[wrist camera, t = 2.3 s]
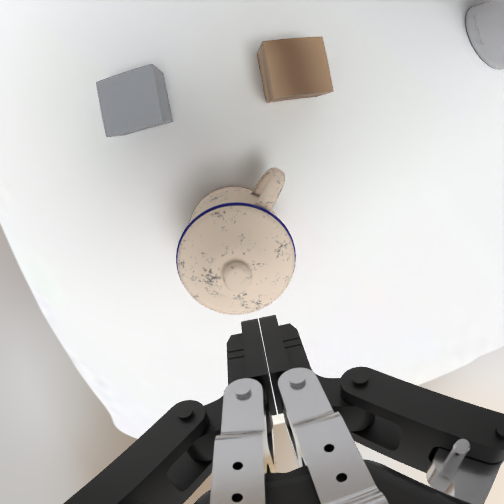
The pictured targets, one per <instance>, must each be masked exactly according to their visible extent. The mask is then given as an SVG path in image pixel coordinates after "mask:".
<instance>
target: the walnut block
mask: <svg viewBox="0 0 504 504" xmlns="http://www.w3.org/2000/svg"><path fill="white" fill-rule="evenodd" d="M257 56H258V61H259V66H260V71H261V76H262V81H263V86H264V92H265V97H266V102H267V103H269V102H275V101H283V100H290V99H298V98H307V97H317V96H320V95H323V94H326V93H330V92H333V87H332V81H331V76H330V71H329V66H328V61H327V56H326V52H325V47H324V42H323V38H322V37H305V38H291V39H280V40H271V41H263V42H262V45H261V47H260V49H259V51H258V54H257Z"/></svg>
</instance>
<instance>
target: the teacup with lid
mask: <svg viewBox="0 0 504 504" xmlns="http://www.w3.org/2000/svg"><path fill="white" fill-rule="evenodd" d="M284 181H285V175H284V173H283V172H282V171H281V170H279V169H277V168H270V169H269V170H267V171H266V172H265V173H264V174H263V176H262V177H261V178H260V180H259V181H258V183H257V184H256V186H255V187H254V189H253V191H252V190H249V189H246V188H242V187H225V188H221V189H218V190H216V191H213V192H212V193H210V194H208V195H207V196H206V197H204V198H203V199H202V200H201V201H200V202H199V204H198V205H197V206H196V208H195V210H194V212H193V214H192V217H191V220H190V222H189V225H188V226H187V227H186V229H185V230H184V232H183V234H182V236H181V238H180V240H179V244H178V247H177V254H176V263H177V270H178V274H179V276H180V279H181V281H182V283H183V285H184V287H185V288H186V290H187V291H188V292H189V294H190V295H191V296H192V297H193V298H194V299H195V300H196V301H198V302H199V303H200V304H202V305H203V306H205V307H207V308H209V309H211V310H214V311H216V312H220V313H225V314H246V313H251V312H254V311H257V310H260V309H262V308H264V307H266V306H268V305H269V304H271V303H272V302H273V301H275V300H276V299H277V298H278V297H279V296H280V295H281V294H282V293H283V292H284V290H285V289H286V287H287V286H288V284H289V282H290V280H291V278H292V275H293V272H294V268H295V260H296V254H295V247H294V243H293V240H292V237H291V235H290V233H289V231H288V229H287V228H286V226H285V225H284V224H283V223H282V222H281V220H280V219H278V218H277V217H276V215H275V213H274V211H273V210H272V206H273V205H274V203H275V201H276V199H277V198H278V196H279V194H280V192H281V190H282V187H283V184H284Z"/></svg>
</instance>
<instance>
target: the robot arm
mask: <svg viewBox="0 0 504 504" xmlns="http://www.w3.org/2000/svg"><path fill="white" fill-rule="evenodd" d="M466 27H467V32H468V35H469V38H470V41H471V43H472V45H473V47H474V49H475V50H476V52H477V53H478V55H479V56H480V57H481V59H482V60H483V61H484V62H485V63H487V64H488V65H489V66H491V67H493V68H495V69H504V0H493V1H490V2H486V3H483V4H480V5H477V6H474V7H471V8H470V9H469V10H468V12H467V15H466ZM259 321H260V326H261V331H262V336H263V341H264V346H265V351H264V347H263V342H262V337H261V332H260V328H259V323H258V319H253V320H248V321H243V322H241V326H242V333H241V334H236V335H231V337H230V338H229V340H228V342H227V364H228V386H227V387H226V389H225V391H224V395H223V396H222V397H221V398H220V399H218V400H216V401H214V402H212V403H210V404H207V405H204V406H203V405H202V404H201V403H199V402H197V401H193V400H186V401H182V402H179V403H177V404H176V405H174V406H173V407H172V408H171V409H170V410H169V411H168V412H167V413H166V414H165V415H163V416H162V417H161V418H160V419H159V420H158V421H157V422H156V423H155V424H154V425H153V426H152V427H151V428H150V429H148V430H147V431H146V432H145V433H144V434H143V435H142V436H141V437H140V438H139V439H138V440H136V441H135V442H134V443H133V444H132V445H131V446H130V447H129V448H128V449H127V450H125V451H124V452H123V453H122V454H121V455H120V456H119V457H118V458H116V459H115V460H114V461H113V462H112V463H111V464H110V465H109V466H107V467H106V468H105V469H104V470H103V471H102V472H100V473H99V474H98V475H97V476H96V477H95V478H94V479H92V480H91V481H90V482H89V483H88V484H86V485H85V486H84V487H83V488H82V489H80V490H79V491H78V492H77V493H76V494H75V495H73V496H72V497H71V498H70V499H68V500H67V501H66V502H65V503H64V504H183V503H184V502H185V501H186V500H187V499H188V498H189V497H190V496H191V495H192V494H193V493H194V492H195V490H196V489H197V488H198V487H199V486H200V485H201V484H202V483H203V482H204V481H205V479H206V478H207V477H208V476H209V475H210V474H211V473H212V482H211V490H209V491H208V492H206V493H205V494H203V495H202V496H201V497H200V498H199V499H198V500H197V501H196V502H195V503H194V504H484V502H485V500H486V498H487V496H488V494H489V491H490V489H491V487H492V485H493V482H494V480H495V478H496V475H497V473H498V470H499V468H500V465H501V464H502V463H503V462H504V414H502V413H499V412H496V411H492V410H489V409H486V408H483V407H479V406H476V405H473V404H470V403H467V402H463V401H460V400H457V399H454V398H451V397H448V396H445V395H442V394H439V393H437V392H433V391H431V390H428V389H425V388H422V387H419V386H417V385H414V384H411V383H408V382H405V381H403V380H400V379H397V378H394V377H392V376H389V375H386V374H384V373H381V372H379V371H376V370H373V369H371V368H367V367H355V368H352V369H350V370H348V371H346V372H345V373H344V374H343V375H342V377H341V378H324V377H321V376H318V375H317V374H315V373H314V372H313V371H312V369H311V367H310V364H309V362H308V359H307V356H306V353H305V350H304V347H303V345H302V342H301V339H300V336H299V333H298V331H297V329H296V328H295V327H293V326H292V325H291V324H285V325H280V326H278V322H277V319H276V315H272V316H267V317H262V318H259ZM265 352H266V356H265ZM266 357H267V361H266ZM267 362H268V367H269V372H270V377H271V382H272V386H273V391H274V396H275V400H276V405H277V410H278V414H281V413H284V418H285V423H286V428H287V431H288V434H289V437H290V440H291V444H292V447H293V450H294V453H295V456H296V459H297V462H298V465H299V468H298V469H296V470H293V471H291V472H288V473H276V463H275V449H274V436H273V429H272V428H273V421H272V415H277V413H276V408H275V403H274V398H273V393H272V387H271V382H270V377H269V372H268V367H267ZM354 441H356V442H358V443H360V444H362V445H364V446H366V447H368V448H370V449H372V450H375V451H377V452H379V453H381V454H383V455H385V456H388V457H390V458H392V459H394V460H397V461H399V462H401V463H404V464H406V465H408V466H411V467H413V468H416V469H418V470H420V471H423V472H425V473H427V481H428V483H429V484H430V486H431V487H429V486H427V485H425V484H423V483H420V482H418V481H416V480H414V479H412V478H409V477H407V476H405V475H403V474H401V473H399V472H397V471H395V470H393V469H391V468H389V467H387V466H385V465H383V464H380V463H377V462H374V461H370V460H363V459H362V456H361V455H360V452H359V450H358V448H357V446H356V444H355V442H354ZM432 487H433V488H432Z"/></svg>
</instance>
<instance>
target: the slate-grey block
mask: <svg viewBox="0 0 504 504" xmlns="http://www.w3.org/2000/svg"><path fill="white" fill-rule="evenodd" d="M96 84H97V90H98V96H99V102H100V107H101V113H102V118H103V123H104V128H105V133H106V137H111V136H121V135H126V134H130V133H133V132H137V131H140V130H144V129H147V128H151V127H154V126H158V125H162V124H166V123H170V122H173V121H172V116H171V111H170V106H169V101H168V96H167V91H166V85H165V80H164V75H163V73H162V72H161V71H160V70H159V69H157V68H156V67H155V66H154V65H153V64H150V65H147V66H143V67H140V68H137V69H133V70H130V71H127V72H124V73H121V74H118V75H115V76H112V77H109V78H106V79H104V80H101V81H98V82H96Z"/></svg>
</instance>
